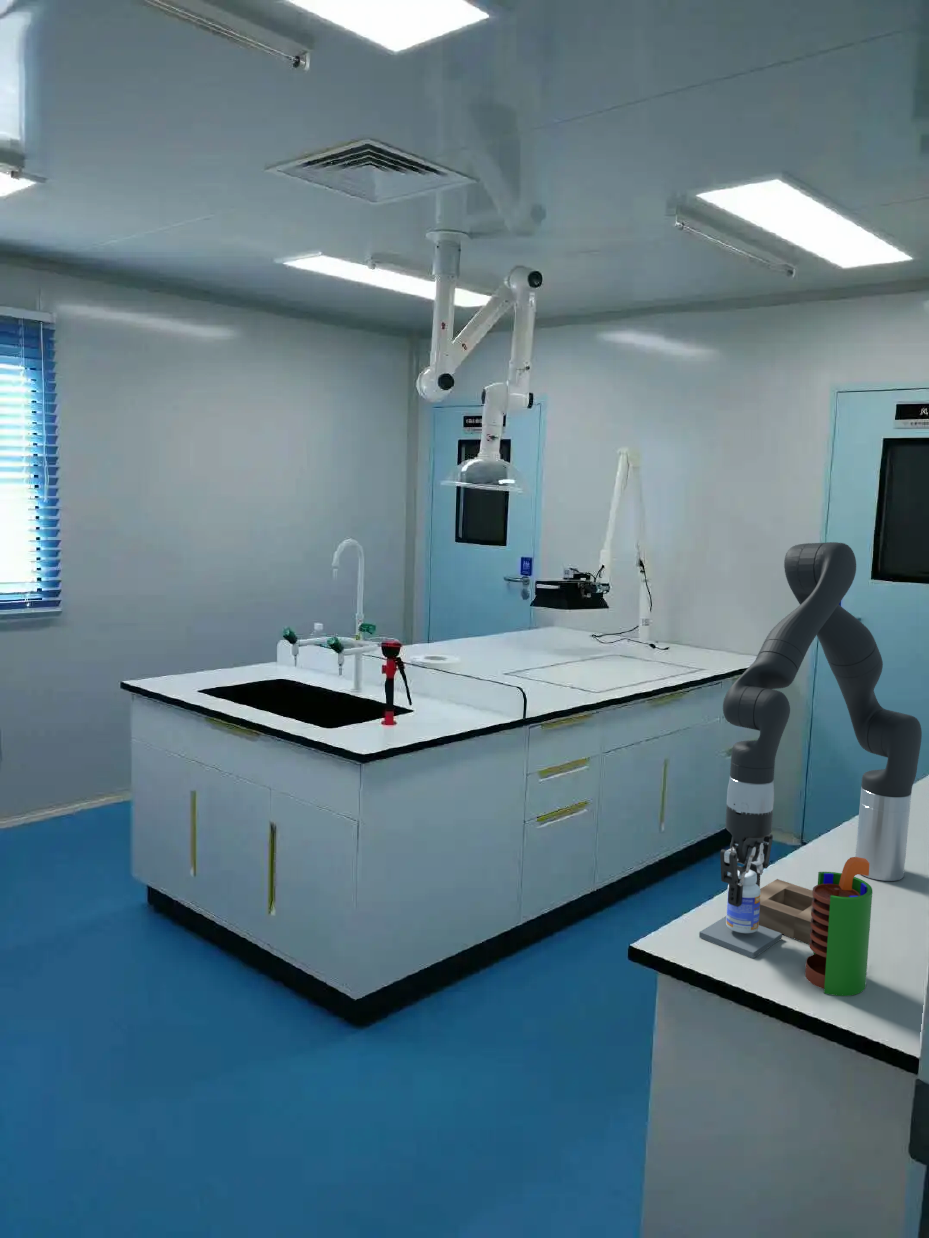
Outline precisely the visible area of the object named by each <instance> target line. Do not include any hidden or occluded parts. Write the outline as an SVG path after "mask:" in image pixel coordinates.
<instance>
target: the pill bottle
mask: <svg viewBox="0 0 929 1238" xmlns="http://www.w3.org/2000/svg"><path fill="white" fill-rule="evenodd" d="M739 873H740V872H739V871H738V877H739ZM756 882H757V873H756V872H754V871H752V870H750V869H749V872H748V873H746V874H745V877H744V881H743V894H742V905H741V906H739V907H736V906H734V905H731V904H729V903H728V892H729V884H728V885H727V894H726V895H727V899H726V925H727V927H728V928H730V929H731V930H733V931H736V932H740V933H753V932H755V931H757V930H758V926H759V911H760V889H761V886H760V887H759V886H758V885H757V884H755V883H756Z"/></svg>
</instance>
